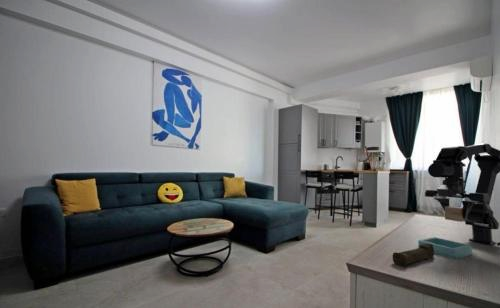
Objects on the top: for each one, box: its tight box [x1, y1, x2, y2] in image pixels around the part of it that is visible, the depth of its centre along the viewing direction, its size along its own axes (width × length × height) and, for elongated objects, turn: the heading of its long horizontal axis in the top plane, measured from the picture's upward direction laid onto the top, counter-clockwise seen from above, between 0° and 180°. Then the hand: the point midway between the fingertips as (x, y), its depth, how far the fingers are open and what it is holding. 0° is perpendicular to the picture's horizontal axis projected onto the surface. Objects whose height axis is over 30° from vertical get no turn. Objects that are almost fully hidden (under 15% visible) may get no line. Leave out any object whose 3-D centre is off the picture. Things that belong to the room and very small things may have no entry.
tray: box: [417, 236, 473, 260], centre depth 81 cm, size 11×11×3 cm
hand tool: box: [392, 244, 435, 268], centre depth 72 cm, size 19×4×5 cm, turn 113°
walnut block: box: [444, 205, 467, 223], centre depth 90 cm, size 5×5×5 cm
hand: (456, 217), depth 89 cm, fingers closed on walnut block, 5 cm apart
